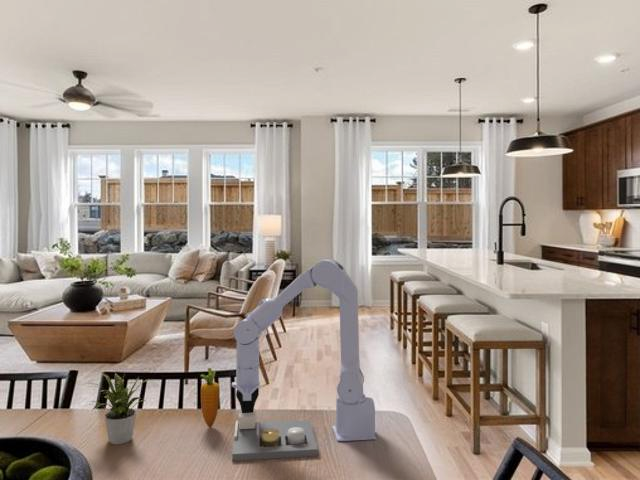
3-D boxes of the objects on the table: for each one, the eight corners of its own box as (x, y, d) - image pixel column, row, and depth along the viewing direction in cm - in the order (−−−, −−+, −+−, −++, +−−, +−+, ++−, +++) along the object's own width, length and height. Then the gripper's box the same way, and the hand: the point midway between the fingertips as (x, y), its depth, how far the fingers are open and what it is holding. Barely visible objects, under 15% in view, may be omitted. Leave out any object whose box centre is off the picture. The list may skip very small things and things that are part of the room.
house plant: (69, 444, 110) (68, 375, 109) (119, 422, 122) (118, 360, 122) (110, 458, 103) (109, 385, 103) (158, 434, 115) (158, 368, 115)
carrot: (215, 432, 117) (215, 372, 116) (196, 430, 118) (196, 371, 117) (223, 424, 121) (223, 367, 121) (205, 422, 122) (205, 365, 122)
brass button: (278, 438, 111) (278, 428, 111) (279, 446, 107) (279, 435, 107) (261, 439, 110) (261, 428, 110) (261, 447, 106) (262, 436, 106)
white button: (303, 437, 112) (303, 426, 112) (305, 444, 108) (305, 434, 108) (287, 438, 111) (287, 427, 111) (288, 445, 107) (288, 435, 107)
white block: (255, 424, 117) (255, 412, 117) (255, 428, 115) (255, 416, 115) (239, 425, 117) (239, 413, 117) (238, 429, 114) (238, 417, 114)
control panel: (309, 425, 121) (309, 416, 121) (318, 455, 105) (318, 445, 105) (235, 429, 118) (235, 420, 118) (232, 460, 103) (232, 450, 103)
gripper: (233, 358, 126) (233, 408, 126) (230, 375, 111) (230, 431, 112) (259, 357, 127) (259, 407, 127) (259, 374, 112) (259, 430, 113)
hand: (247, 418), depth 119 cm, fingers closed
